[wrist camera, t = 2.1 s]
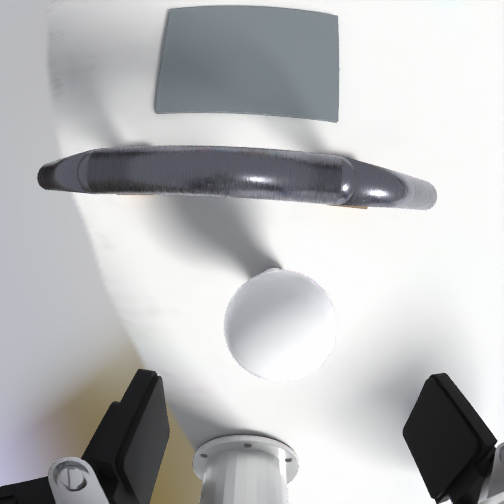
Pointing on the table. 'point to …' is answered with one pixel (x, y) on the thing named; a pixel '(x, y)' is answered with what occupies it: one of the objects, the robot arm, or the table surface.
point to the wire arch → (236, 176)
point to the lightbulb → (280, 325)
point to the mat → (250, 62)
